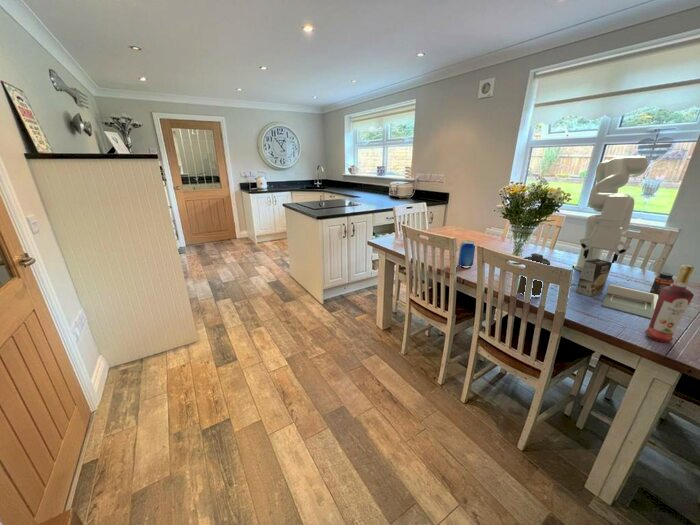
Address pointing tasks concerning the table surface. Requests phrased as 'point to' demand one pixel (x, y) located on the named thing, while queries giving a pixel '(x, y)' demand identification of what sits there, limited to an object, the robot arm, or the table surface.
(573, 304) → the table surface
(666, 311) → the liquor
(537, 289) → the canister
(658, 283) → the supplement bottle
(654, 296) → the corner arena
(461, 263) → the beer can
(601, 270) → the coffee box
